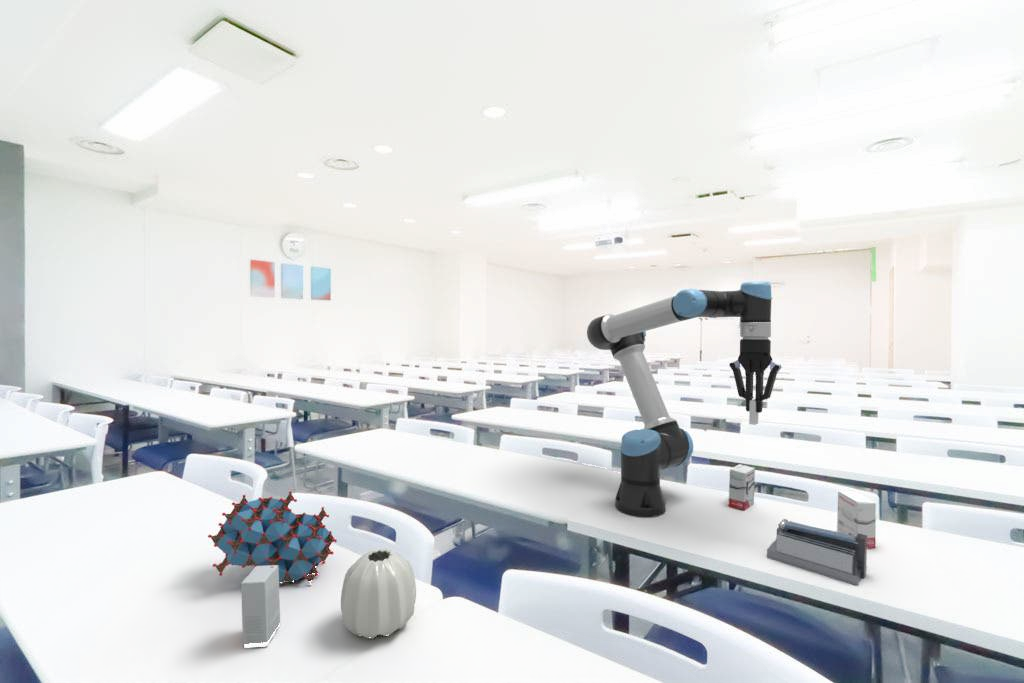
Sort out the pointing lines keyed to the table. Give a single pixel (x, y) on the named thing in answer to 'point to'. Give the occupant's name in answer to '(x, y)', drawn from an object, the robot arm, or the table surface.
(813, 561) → the heatsink
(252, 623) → the skincare box
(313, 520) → the molecule model
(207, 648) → the table surface
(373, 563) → the vase
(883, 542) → the table surface
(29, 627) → the table surface
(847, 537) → the blue long flat bar
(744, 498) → the ink box
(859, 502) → the ink box
